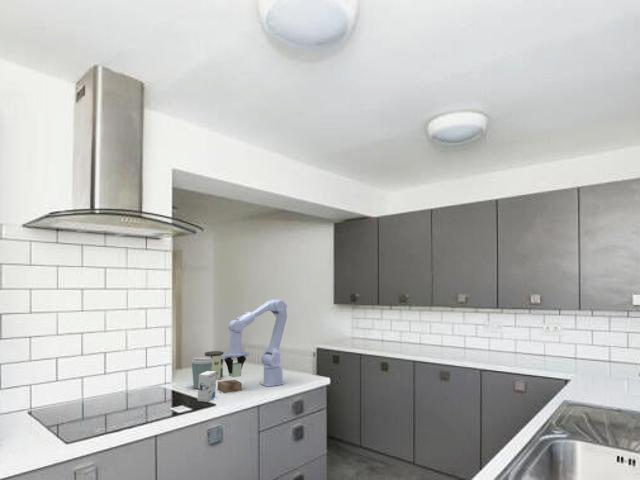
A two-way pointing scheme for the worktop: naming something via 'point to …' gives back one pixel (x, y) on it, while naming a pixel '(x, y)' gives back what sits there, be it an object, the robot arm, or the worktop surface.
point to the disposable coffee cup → (200, 368)
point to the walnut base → (229, 386)
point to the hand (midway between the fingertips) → (234, 372)
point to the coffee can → (216, 363)
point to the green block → (236, 370)
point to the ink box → (206, 386)
